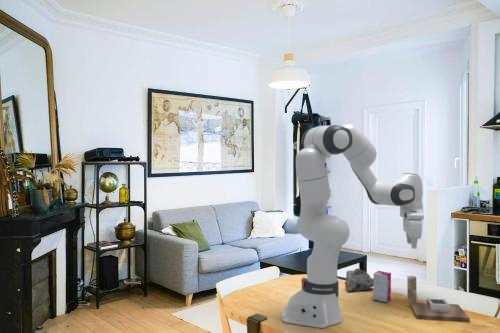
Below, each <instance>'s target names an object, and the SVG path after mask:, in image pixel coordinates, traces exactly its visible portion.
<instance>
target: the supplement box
mask: <svg viewBox="0 0 500 333" xmlns="http://www.w3.org/2000/svg"><path fill="white" fill-rule="evenodd" d="M372 279H373V287H372V289H373V292H372V301H374V302H377V301H378V302H379V303H382V302H383V304H387V303H388V302H389V301H391V300H392V299H391V295H392V294H391V293H392V292H391V290H392V273H391V272H388V271H387V272H386V271H382V270H376V271H375V272H373V278H372Z"/></svg>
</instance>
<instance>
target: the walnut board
mask: <svg viewBox="0 0 500 333" xmlns="http://www.w3.org/2000/svg"><path fill="white" fill-rule="evenodd" d="M448 304H449V305H450V313H436V312H430V310H429V309H428V307H427V302H420V301H419V302H409V307H410V309H411V312H412V313H413V315H414V317H415V319H416V320H425V321H426V320H428V321H429V320H430V321H444V322H445V321H446V322H458V323H459V322H462V323H470V322H471V319H470V317H469V315H468V314H467V313H466V312H465V310H463V309H462V307H461V306H460V305H459V304H454V303H453V304H452V303H448Z"/></svg>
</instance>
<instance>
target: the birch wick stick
mask: <svg viewBox="0 0 500 333" xmlns="http://www.w3.org/2000/svg"><path fill="white" fill-rule="evenodd" d="M406 277H407V282H406V284H407V286H406V287H407V301H408V302H409V303H410V302H417V301H418V300H417V299H418V298H417V297H418V296H417V277H416V276H415V275H406Z"/></svg>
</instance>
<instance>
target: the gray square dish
mask: <svg viewBox="0 0 500 333" xmlns="http://www.w3.org/2000/svg"><path fill="white" fill-rule="evenodd" d="M426 303H427V307H428V309H429V310H430V312H436V313H450V305H449V304H450V303H448V301H447V300H446V299H445V298H430V297H429V298H426Z"/></svg>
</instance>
